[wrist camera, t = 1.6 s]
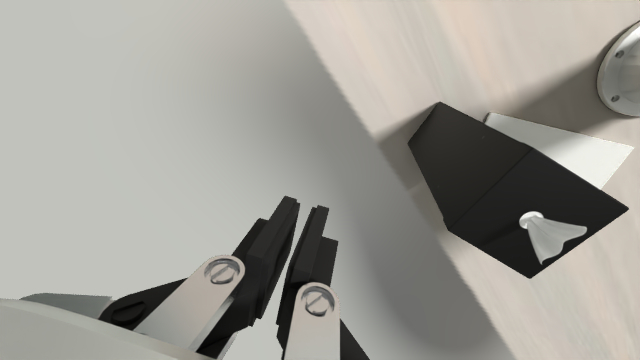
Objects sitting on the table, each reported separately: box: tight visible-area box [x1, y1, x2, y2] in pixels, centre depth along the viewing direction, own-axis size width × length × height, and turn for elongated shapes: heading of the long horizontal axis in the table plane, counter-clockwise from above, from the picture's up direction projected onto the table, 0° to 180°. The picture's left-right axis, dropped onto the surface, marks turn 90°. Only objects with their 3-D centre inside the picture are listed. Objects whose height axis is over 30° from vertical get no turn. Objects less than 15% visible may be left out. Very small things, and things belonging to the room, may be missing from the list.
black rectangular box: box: [408, 102, 629, 279], centre depth 28 cm, size 8×8×28 cm
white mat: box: [484, 112, 634, 189], centre depth 40 cm, size 20×14×1 cm
